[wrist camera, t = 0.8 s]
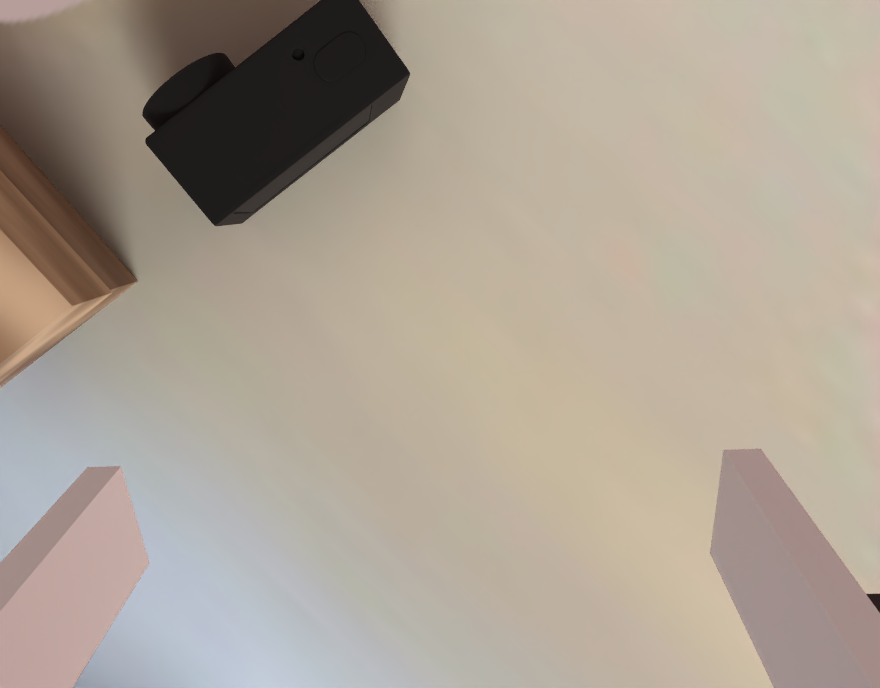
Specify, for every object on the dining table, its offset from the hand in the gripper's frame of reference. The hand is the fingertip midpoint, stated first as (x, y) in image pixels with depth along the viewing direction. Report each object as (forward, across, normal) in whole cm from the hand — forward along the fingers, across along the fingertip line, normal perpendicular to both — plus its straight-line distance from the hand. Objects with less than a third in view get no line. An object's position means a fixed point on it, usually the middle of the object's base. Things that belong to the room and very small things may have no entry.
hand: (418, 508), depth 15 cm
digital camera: (+23, +8, -7) cm, 25 cm away
